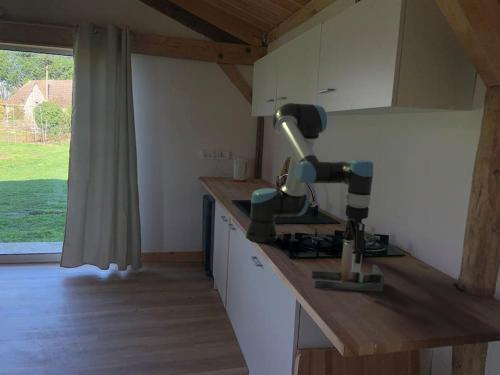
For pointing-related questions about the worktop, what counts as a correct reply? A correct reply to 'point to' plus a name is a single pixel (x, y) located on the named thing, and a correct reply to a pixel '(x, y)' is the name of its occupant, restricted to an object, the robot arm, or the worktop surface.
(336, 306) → the worktop surface
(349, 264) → the beverage can
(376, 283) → the lane
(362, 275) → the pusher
